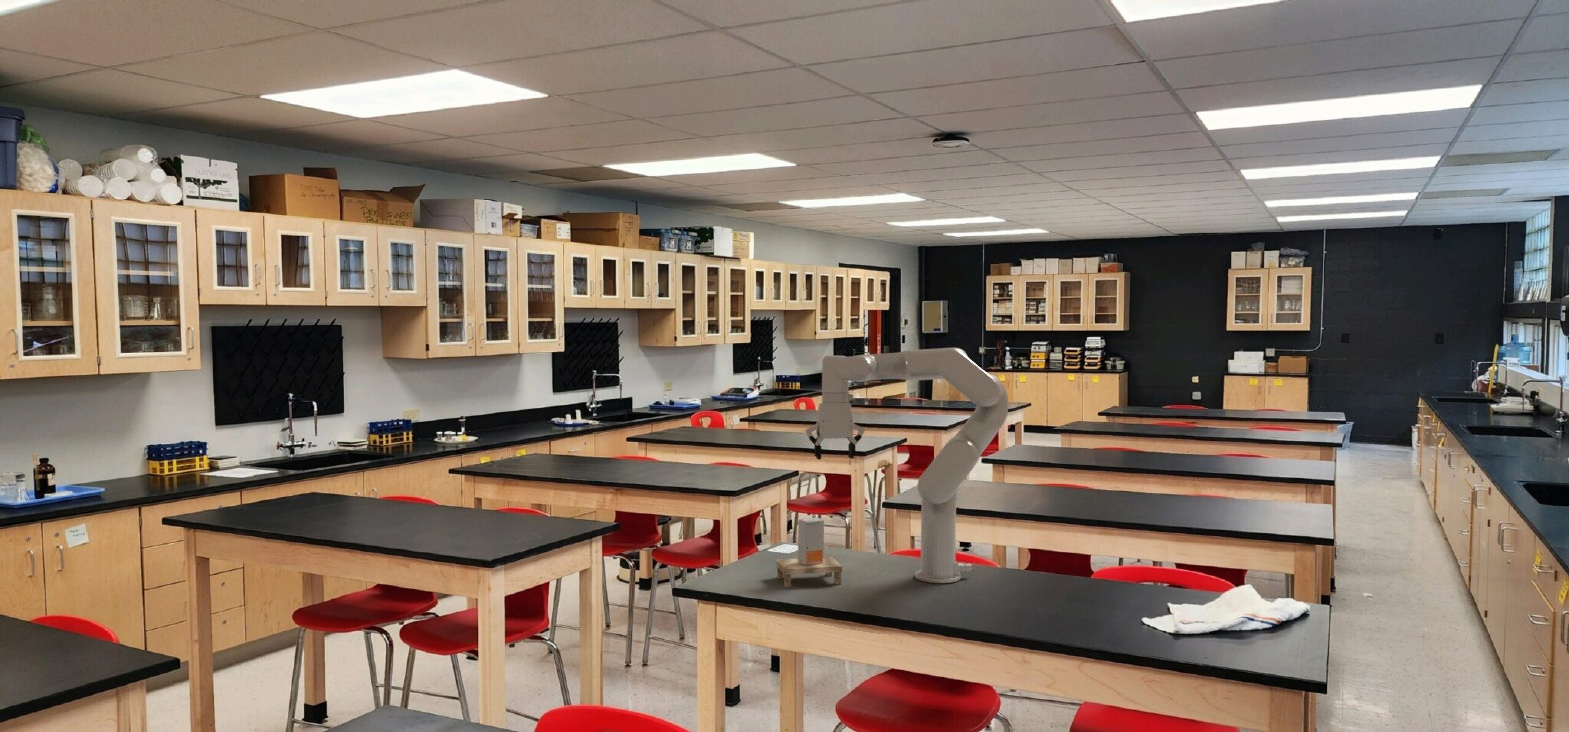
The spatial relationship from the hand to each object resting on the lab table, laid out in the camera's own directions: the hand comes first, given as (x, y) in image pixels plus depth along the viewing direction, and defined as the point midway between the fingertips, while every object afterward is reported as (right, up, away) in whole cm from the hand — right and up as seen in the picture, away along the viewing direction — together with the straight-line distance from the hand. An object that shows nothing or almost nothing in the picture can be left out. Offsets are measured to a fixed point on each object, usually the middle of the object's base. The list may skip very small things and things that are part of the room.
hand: (834, 458), depth 270 cm
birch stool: (-8, -33, -10) cm, 35 cm away
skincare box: (-7, -28, -10) cm, 31 cm away
